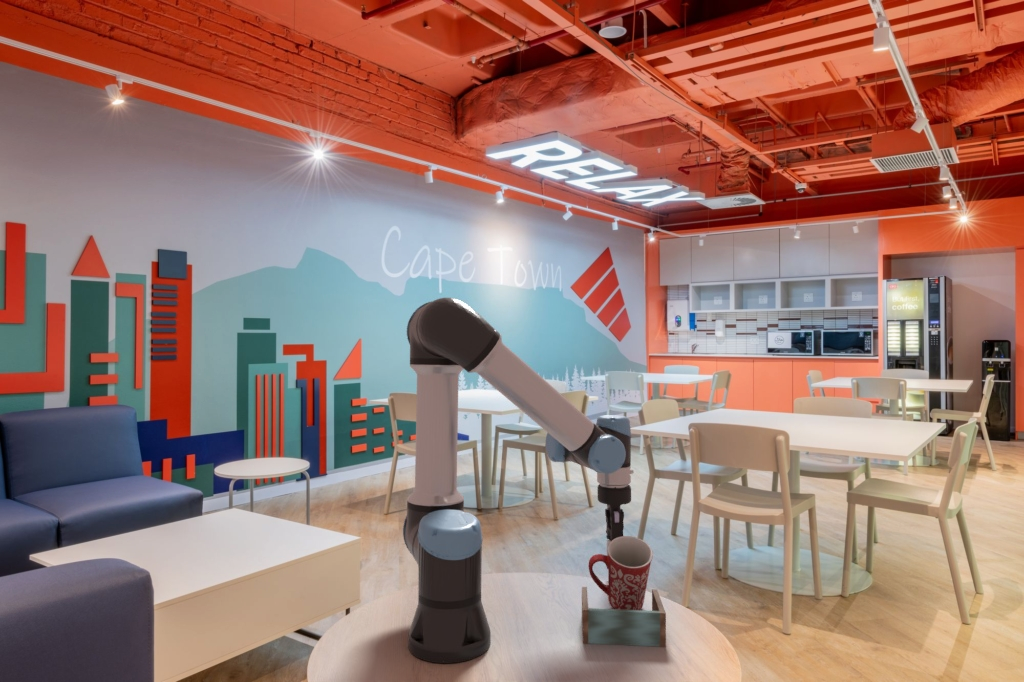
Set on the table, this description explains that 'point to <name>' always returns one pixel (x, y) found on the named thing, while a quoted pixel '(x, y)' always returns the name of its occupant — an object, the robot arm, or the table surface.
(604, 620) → the dock
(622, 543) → the mug
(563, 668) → the table surface
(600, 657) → the table surface
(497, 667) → the table surface
